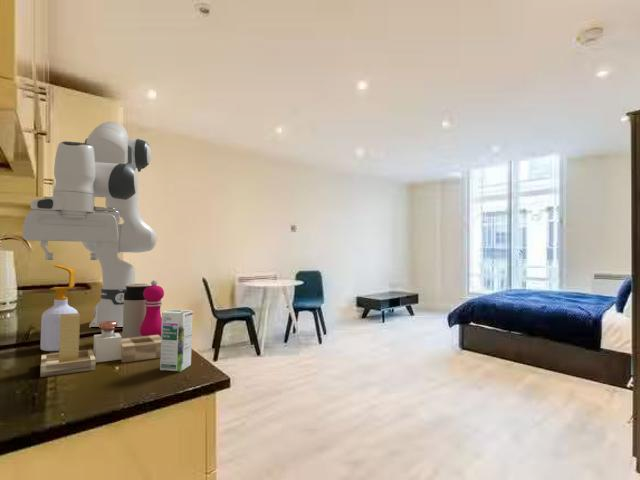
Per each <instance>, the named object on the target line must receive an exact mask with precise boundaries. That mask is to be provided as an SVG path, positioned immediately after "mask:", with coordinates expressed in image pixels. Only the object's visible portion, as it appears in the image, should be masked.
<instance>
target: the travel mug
mask: <svg viewBox="0 0 640 480" xmlns="http://www.w3.org/2000/svg"><path fill="white" fill-rule="evenodd" d="M125 286H126V292H125V294H124V307H123V328H122V334H121V335H122V336H121V337H122V338H130V337H140V336H142V335H141V334H140V327H141V324H142V322H143V320H144V318H145V315H146V306H145V301H146V299H145V298H144V296H143V292H144V290H145V288H147V287H148V286H151V283H145V282H143V283H142V282H141V283H140V282H139V283H135V284H126V285H125Z"/></svg>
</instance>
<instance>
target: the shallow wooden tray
mask: <svg viewBox="0 0 640 480" xmlns="http://www.w3.org/2000/svg"><path fill="white" fill-rule="evenodd" d="M40 359H41V360H40V371H39V372H40V376H39V377H40V378H44V377H51V376H52V377H53V376H58V375H65V374H67V375H68V374H74V373H80V372H89V371H95V370H96V366H97V365H96V364H97V362H96V359H95V356H94V353H93V349H92V348H91V349H84V350H79V357H78V361H70V362H62V363H59V352H56V353H47V354H41V358H40Z"/></svg>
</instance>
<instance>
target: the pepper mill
mask: <svg viewBox="0 0 640 480" xmlns="http://www.w3.org/2000/svg"><path fill="white" fill-rule="evenodd" d="M164 295H165V290H164V288H163V287H162V286H160V285H158V282H157V280H155V279H154V280H152V281H151V283H150V286H148V287H147V288H145V290H144V292H143V296H144V298H145V299H146V301H145V306H146V315H145V318H144V320H143V322H142V324H141V327H140V334H141V335H142V336H150V335H159V336H160V337H161V330H162V313H161V306H162V305H163V304H162V303H163V300H162V299H163V298H164Z"/></svg>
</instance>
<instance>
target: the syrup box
mask: <svg viewBox="0 0 640 480" xmlns="http://www.w3.org/2000/svg"><path fill="white" fill-rule="evenodd" d="M193 310H194V309H193ZM193 310H191V309H189V310H188V309H167V310H165V311H163V312H162V313H161V317H162V330H161V357H160V358H159V370H160V371H169V372H170V371H171V372H182V371H184V370H185V369H187V368H189V367H190V366H192V348H193V346H192V344H193V343H192V341H193V317H194V316H193V315H194V312H193Z"/></svg>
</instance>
